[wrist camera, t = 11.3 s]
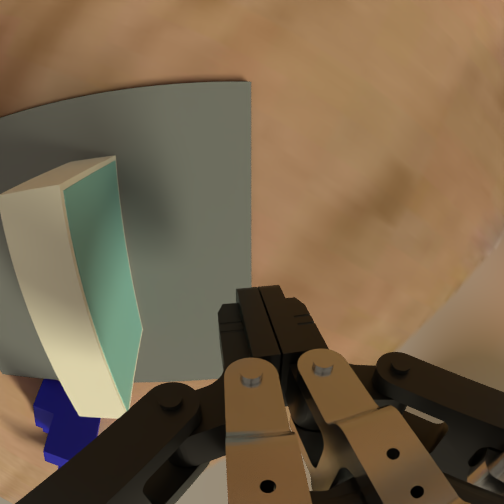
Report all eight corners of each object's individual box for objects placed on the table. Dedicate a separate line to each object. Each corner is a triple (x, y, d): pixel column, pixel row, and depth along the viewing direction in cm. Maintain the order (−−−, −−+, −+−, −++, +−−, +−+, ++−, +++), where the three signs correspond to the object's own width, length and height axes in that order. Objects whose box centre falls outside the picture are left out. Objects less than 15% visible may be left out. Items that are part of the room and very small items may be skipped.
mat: (-65, 144, 10) (-69, 145, 9) (249, 82, 12) (251, 81, 12) (4, 370, 16) (2, 373, 16) (250, 370, 19) (251, 375, 18)
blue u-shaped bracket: (45, 373, 17) (20, 441, 12) (104, 395, 18) (91, 467, 13) (50, 448, 21) (39, 498, 15) (93, 462, 22) (87, 514, 17)
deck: (70, 161, 12) (-3, 195, 6) (116, 155, 12) (60, 184, 7) (105, 330, 16) (79, 416, 10) (143, 329, 16) (128, 419, 10)
